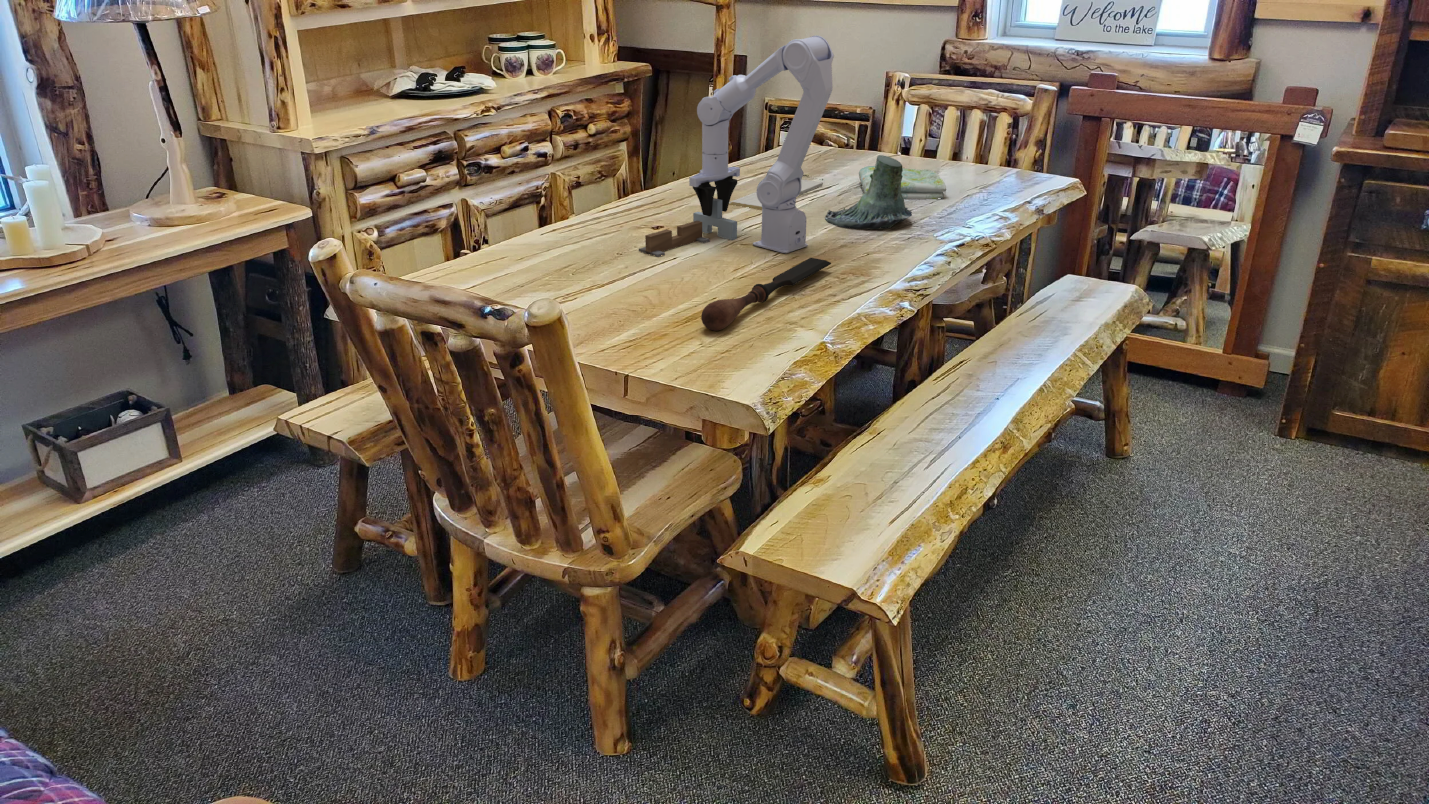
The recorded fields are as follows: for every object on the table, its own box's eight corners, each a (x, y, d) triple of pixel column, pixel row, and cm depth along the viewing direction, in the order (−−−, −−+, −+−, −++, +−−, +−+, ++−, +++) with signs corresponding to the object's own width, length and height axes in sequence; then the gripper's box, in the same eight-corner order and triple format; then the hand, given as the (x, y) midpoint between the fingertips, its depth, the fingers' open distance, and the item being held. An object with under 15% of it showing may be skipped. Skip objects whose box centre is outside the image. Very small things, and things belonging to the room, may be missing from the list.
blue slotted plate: (736, 238, 229) (737, 203, 226) (732, 240, 228) (732, 204, 225) (698, 228, 236) (698, 194, 233) (693, 229, 235) (693, 195, 232)
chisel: (694, 331, 178) (694, 304, 176) (810, 268, 210) (811, 244, 208) (719, 337, 175) (719, 310, 173) (832, 272, 208) (833, 248, 206)
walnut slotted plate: (709, 241, 227) (709, 223, 225) (658, 257, 216) (657, 238, 215) (690, 236, 231) (690, 218, 229) (638, 251, 220) (638, 233, 218)
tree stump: (842, 208, 256) (865, 139, 247) (914, 238, 249) (939, 168, 240) (811, 221, 241) (833, 148, 232) (886, 254, 234) (912, 180, 225)
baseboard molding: (722, 205, 258) (762, 213, 252) (722, 194, 256) (762, 201, 250) (784, 182, 281) (822, 188, 275) (784, 171, 280) (823, 177, 274)
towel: (947, 201, 262) (949, 181, 259) (864, 200, 262) (865, 180, 260) (935, 184, 278) (937, 165, 276) (857, 183, 278) (858, 165, 276)
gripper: (723, 144, 232) (723, 203, 237) (679, 154, 222) (679, 215, 228) (747, 149, 227) (746, 209, 233) (702, 159, 218) (702, 221, 223)
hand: (714, 213), depth 230 cm, fingers open, 5 cm apart
